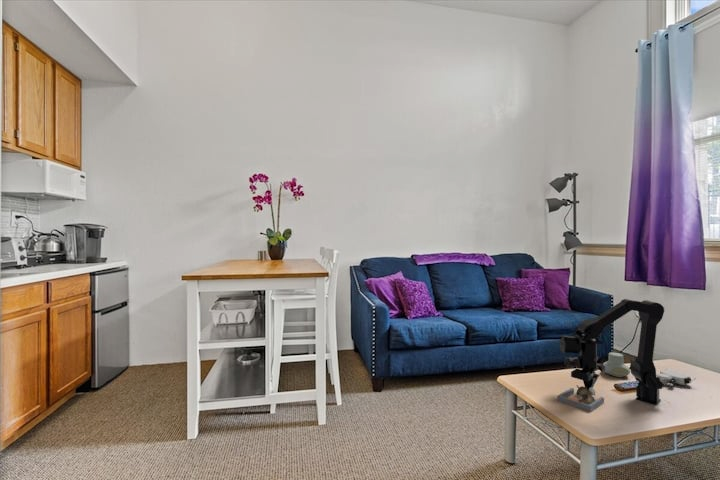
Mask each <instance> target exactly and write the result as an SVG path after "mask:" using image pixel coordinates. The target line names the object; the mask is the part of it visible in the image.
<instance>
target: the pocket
mask: <svg viewBox="0 0 720 480" xmlns="http://www.w3.org/2000/svg"><path fill="white" fill-rule="evenodd" d="M574 394H575V388H573V387H571V388H569V389H566V390H565V391H563V392H561V393H560V394H558V395H556V396H557V399H556V400H557V402H560V403H563V404H566V405H568V406H572V407H574V408H577V409H581V410H584V411H587V412H590V413H591V412H593V411H594V410H596V409H597V408H598V407H600V406H601V405H603V404H605V397H604V396H600V397H599V398H597V399H595V401H594V402H593V403H591V404H590V405H588V404H585V403H583V401H582V402H581V401H580V400H579V397H576V396H575V397H574V396H572V395H574Z"/></svg>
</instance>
